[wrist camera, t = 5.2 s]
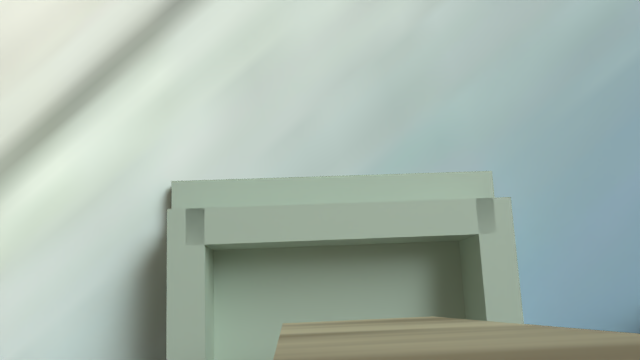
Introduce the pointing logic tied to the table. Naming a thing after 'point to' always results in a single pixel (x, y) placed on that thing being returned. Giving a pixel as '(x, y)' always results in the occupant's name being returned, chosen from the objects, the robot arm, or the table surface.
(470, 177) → the tray
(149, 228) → the table surface
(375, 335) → the post
